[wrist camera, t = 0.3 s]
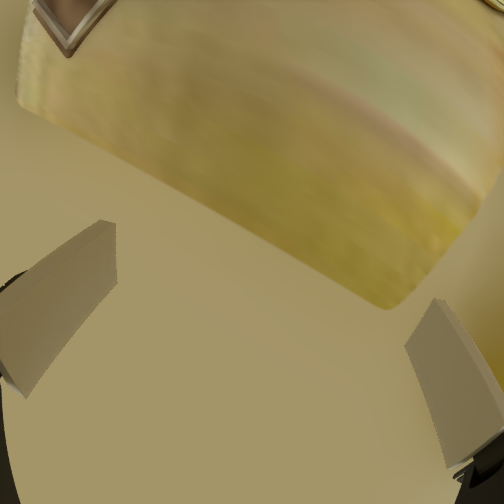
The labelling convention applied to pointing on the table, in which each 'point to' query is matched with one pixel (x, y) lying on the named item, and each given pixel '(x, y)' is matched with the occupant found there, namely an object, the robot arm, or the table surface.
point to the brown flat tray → (70, 20)
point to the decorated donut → (496, 4)
